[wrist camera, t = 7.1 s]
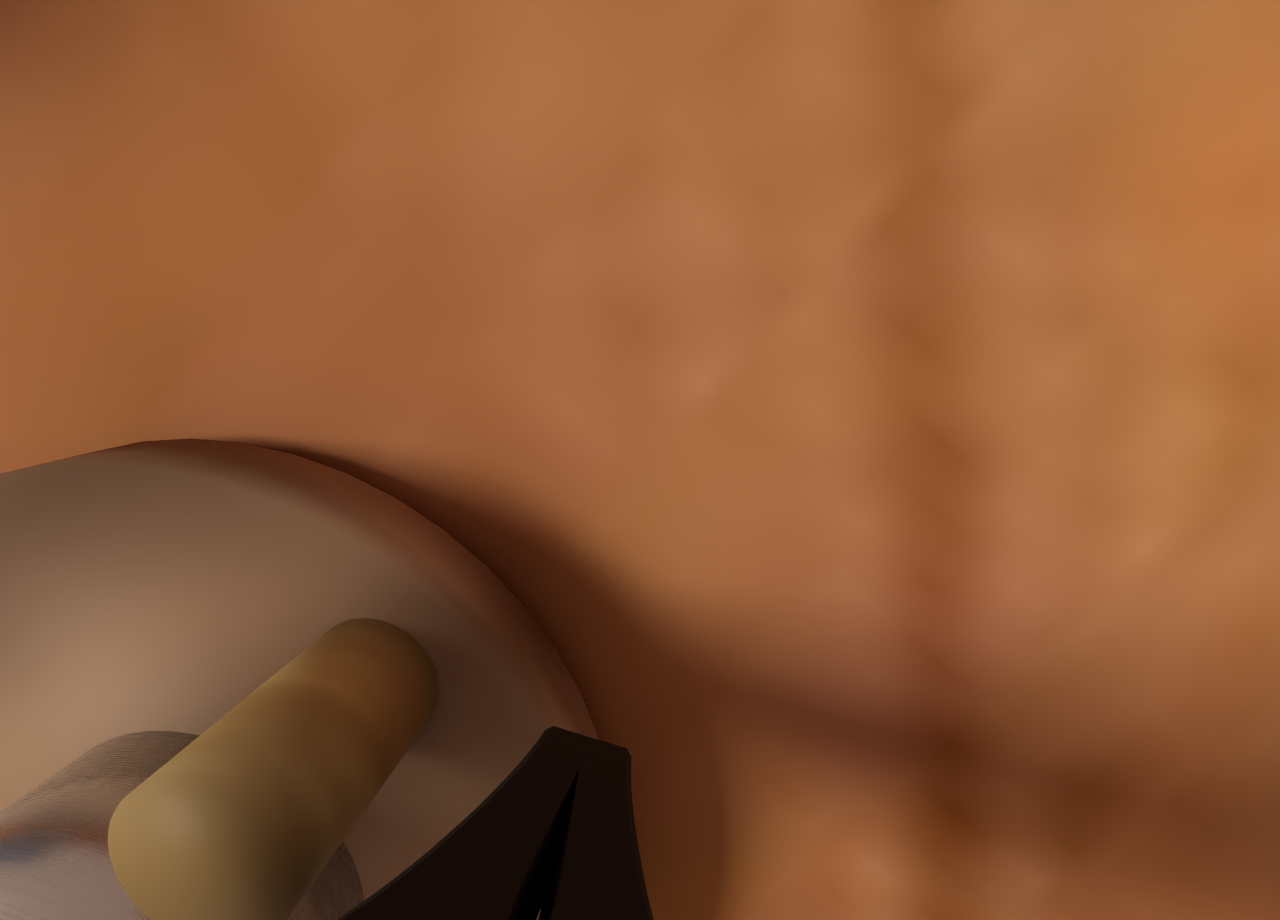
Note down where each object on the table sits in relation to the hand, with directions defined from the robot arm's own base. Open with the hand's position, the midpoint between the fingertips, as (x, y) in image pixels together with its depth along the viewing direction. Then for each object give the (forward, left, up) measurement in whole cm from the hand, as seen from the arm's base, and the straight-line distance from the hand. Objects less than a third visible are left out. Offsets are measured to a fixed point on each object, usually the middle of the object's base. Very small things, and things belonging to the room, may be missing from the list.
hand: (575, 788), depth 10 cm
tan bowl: (+3, +9, -4) cm, 10 cm away
